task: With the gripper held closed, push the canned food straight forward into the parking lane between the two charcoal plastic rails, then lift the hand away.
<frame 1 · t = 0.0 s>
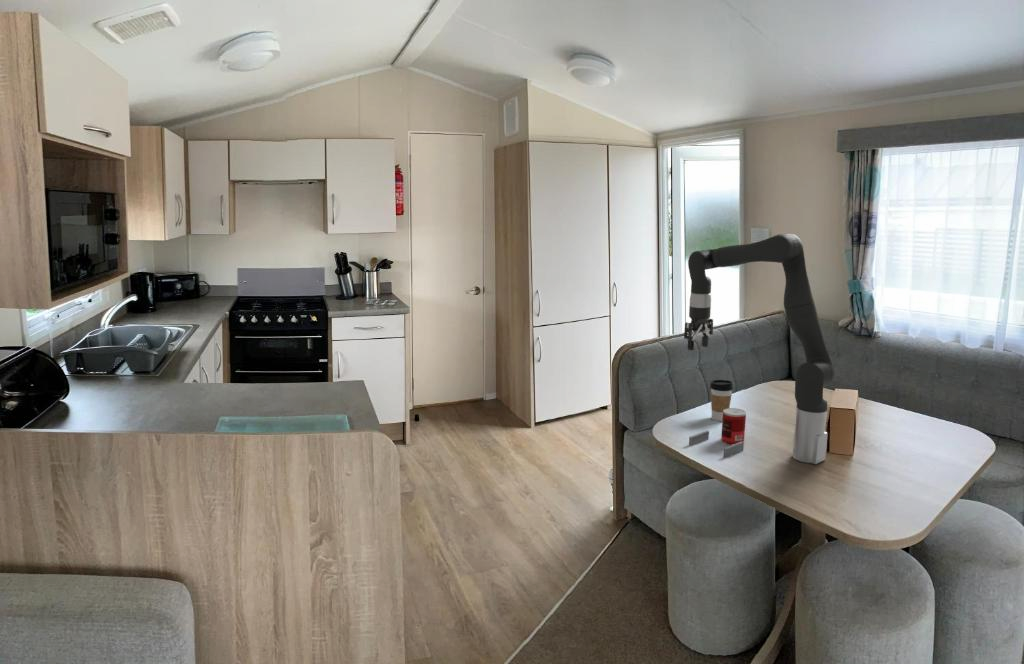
hand: (697, 348, 261), 29 cm above the table, tool pointing down, fingers open, 8 cm apart
canned food: (732, 441, 249), on the table
lane rails: (715, 447, 242), on the table
coffee cup: (719, 419, 272), on the table
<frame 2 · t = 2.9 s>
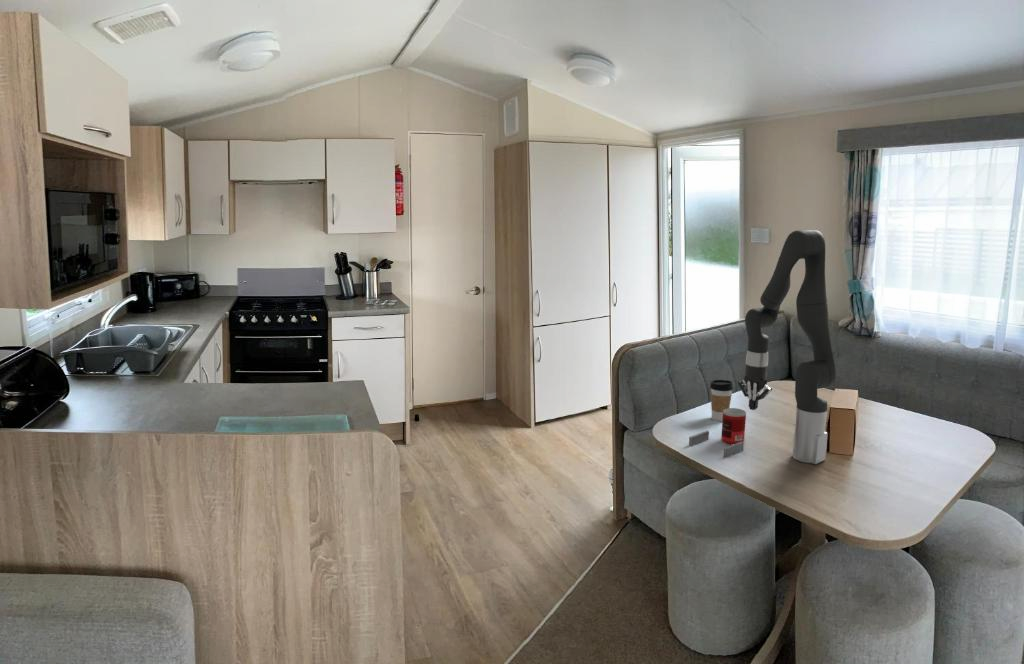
hand: (752, 409, 254), 9 cm above the table, tool pointing down, fingers closed
nothing on the table moved.
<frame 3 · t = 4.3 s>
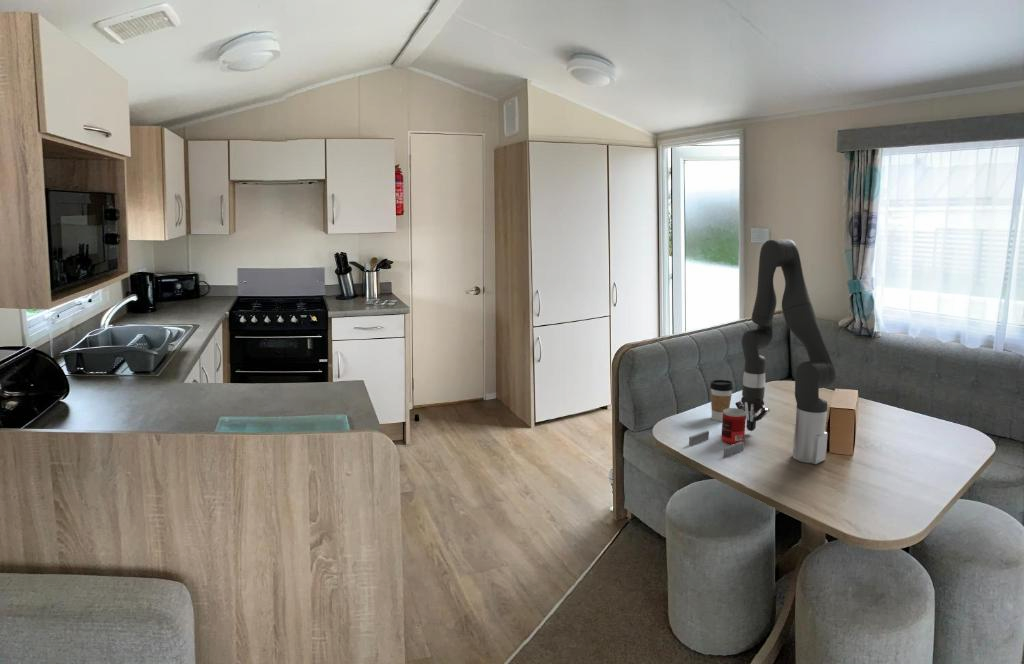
hand: (750, 430, 255), 1 cm above the table, tool pointing down, fingers closed
nothing on the table moved.
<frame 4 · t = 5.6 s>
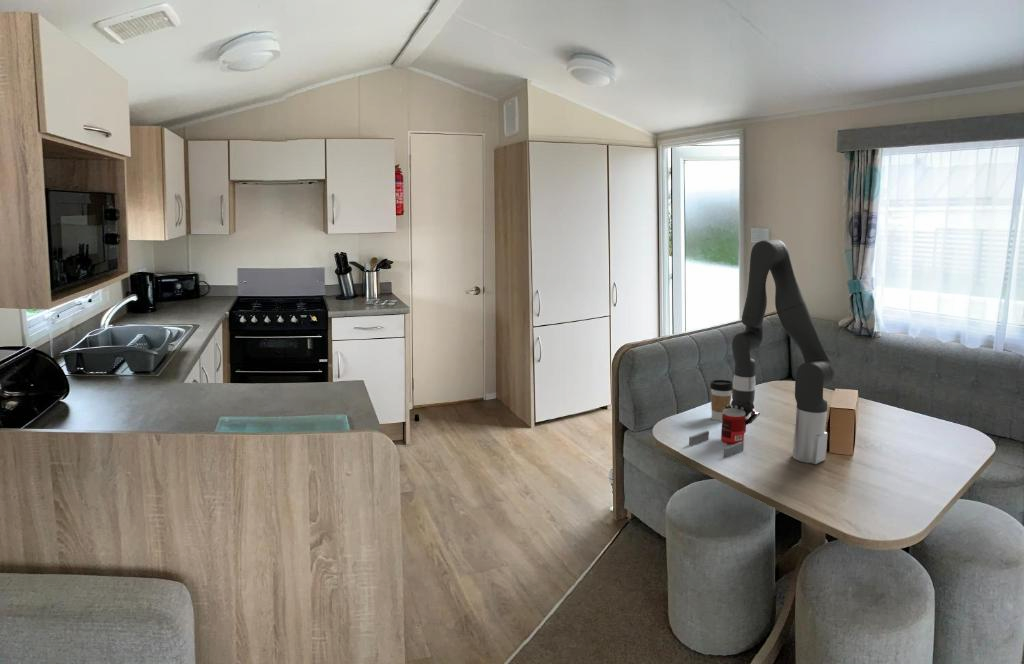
hand: (740, 433, 251), 2 cm above the table, tool pointing down, fingers closed
canned food: (732, 441, 248), on the table, touching gripper
everything else where it was.
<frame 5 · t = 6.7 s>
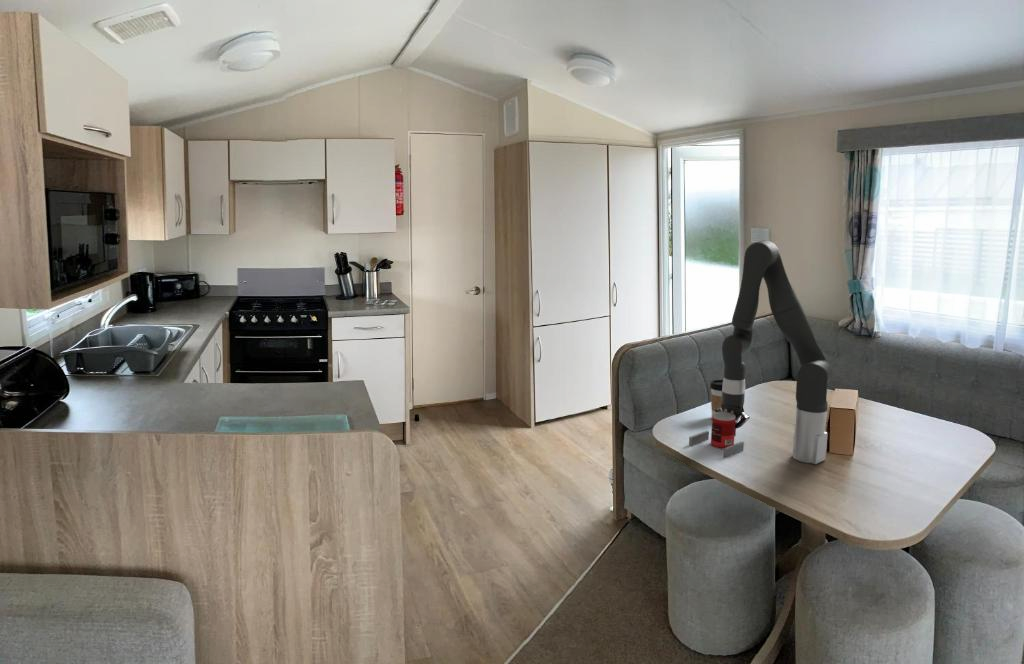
hand: (730, 437, 248), 2 cm above the table, tool pointing down, fingers closed
canned food: (722, 445, 245), on the table, touching gripper
everything else where it was.
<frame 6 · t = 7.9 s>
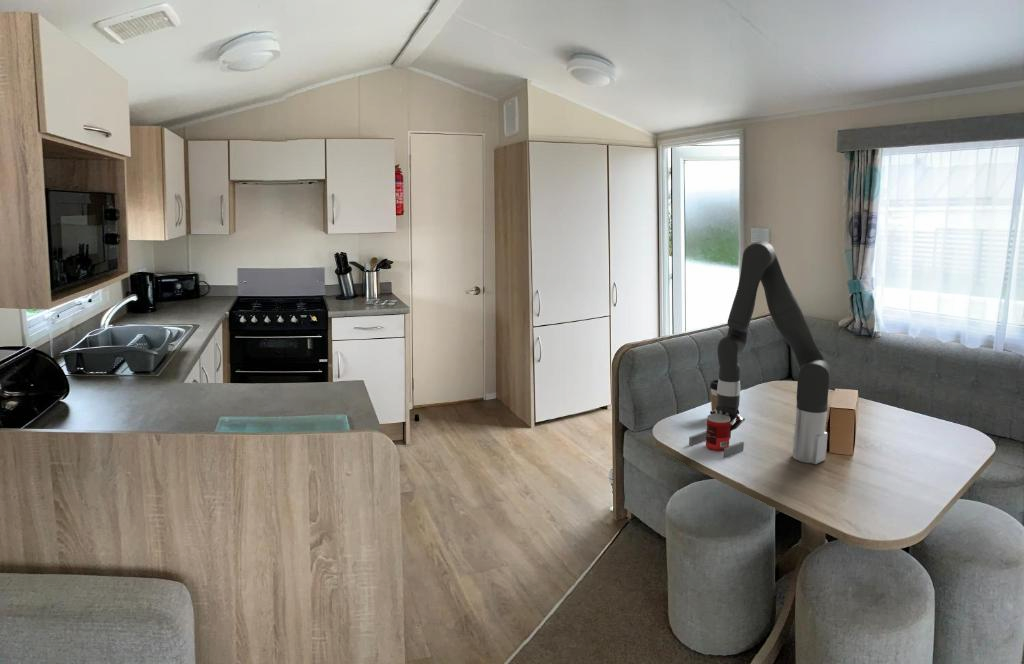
hand: (725, 439, 246), 2 cm above the table, tool pointing down, fingers closed
canned food: (717, 448, 243), on the table, touching gripper
everything else where it was.
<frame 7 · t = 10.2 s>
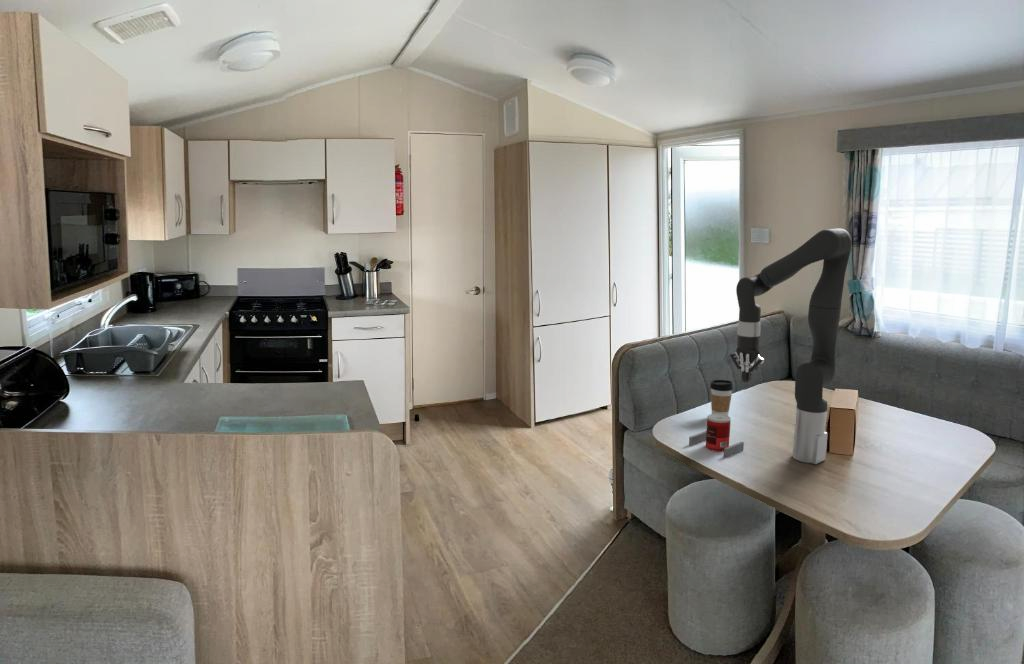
hand: (746, 381, 248), 21 cm above the table, tool pointing down, fingers closed
canned food: (717, 448, 243), on the table
everything else where it was.
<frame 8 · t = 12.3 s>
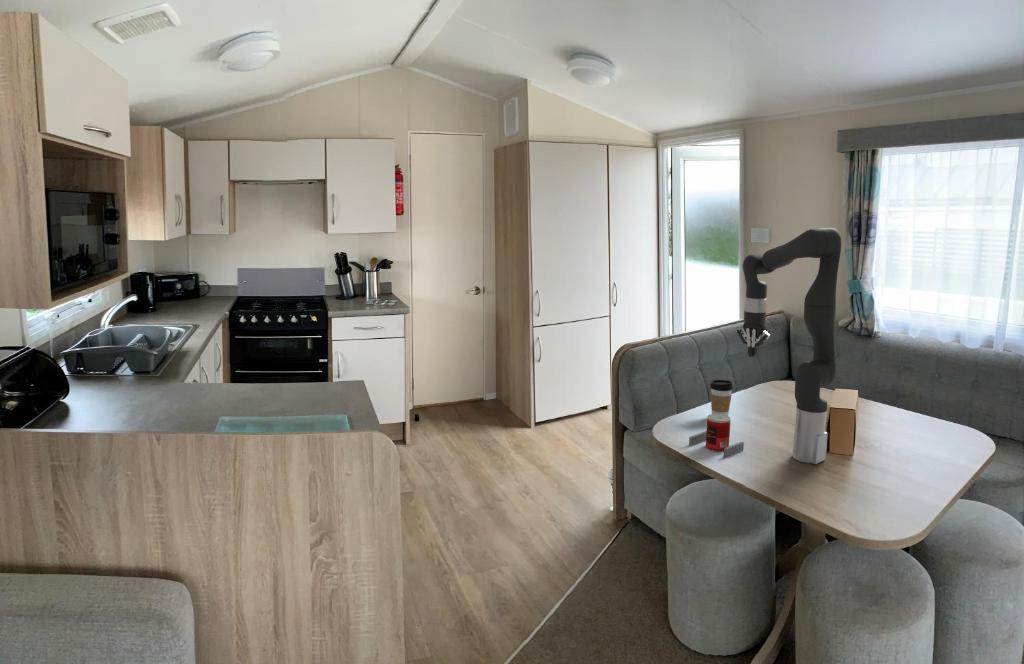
hand: (752, 356, 257), 27 cm above the table, tool pointing down, fingers closed
nothing on the table moved.
at the end: canned food inside the target area (1.9 cm from its centre), on the table; canned food tilted 0°; canned food moved 9.4 cm from its start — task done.
